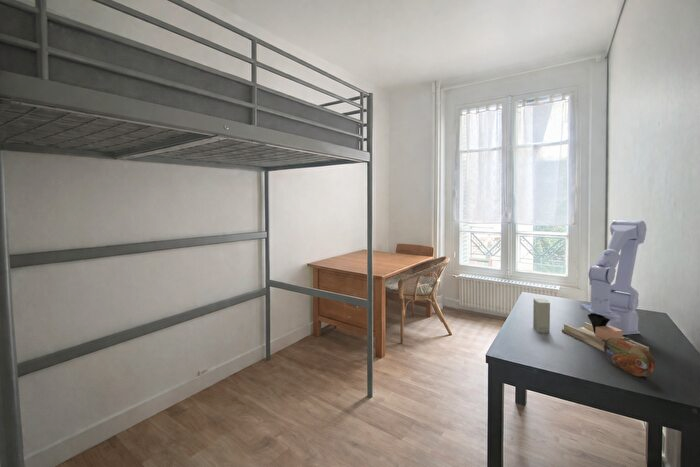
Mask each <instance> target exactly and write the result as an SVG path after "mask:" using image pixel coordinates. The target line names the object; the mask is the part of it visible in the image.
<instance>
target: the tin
mask: <svg viewBox="0 0 700 467" xmlns="http://www.w3.org/2000/svg"><path fill="white" fill-rule="evenodd" d="M603 352H604V355H605V356H606V359H607V360H608V361H609V362H610V363H611V364H612V365H614V366H616V367H618V368H620V369H621V370H624V371H626V372H627V373H629V374H631V375H633V376H635V377H648V376H651V375H652V374H653V373H654V372H655V368H656V362H655V359H654V357H653V354H651V352H650V350H649V351H647V350H646V349H644V348H642V347H640V346H637V345H635V344H633V343H630V342H628V341H626V340H623V339H620V338H609V339H607V340H606V342H605V344H604V351H603Z"/></svg>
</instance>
